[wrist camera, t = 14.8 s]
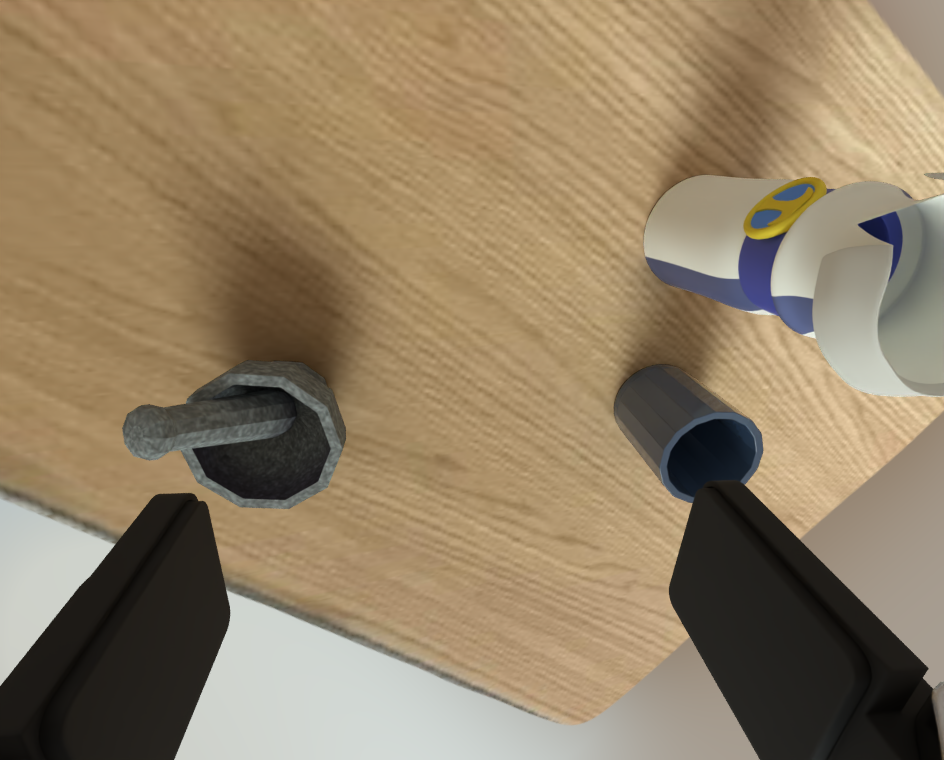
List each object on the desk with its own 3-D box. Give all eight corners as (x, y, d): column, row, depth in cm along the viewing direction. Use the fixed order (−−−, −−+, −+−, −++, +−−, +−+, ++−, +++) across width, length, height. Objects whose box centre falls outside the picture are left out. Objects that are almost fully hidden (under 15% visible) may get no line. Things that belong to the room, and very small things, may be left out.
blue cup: (621, 362, 38) (673, 411, 30) (705, 365, 38) (776, 413, 30) (606, 439, 40) (650, 503, 32) (684, 441, 41) (746, 503, 33)
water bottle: (610, 238, 34) (1000, 366, 11) (709, 141, 32) (1435, 46, 9) (678, 317, 37) (1107, 553, 14) (773, 231, 35) (1457, 337, 12)
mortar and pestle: (381, 393, 37) (362, 485, 26) (308, 475, 39) (261, 593, 28) (250, 297, 33) (163, 356, 22) (177, 393, 35) (65, 490, 24)
